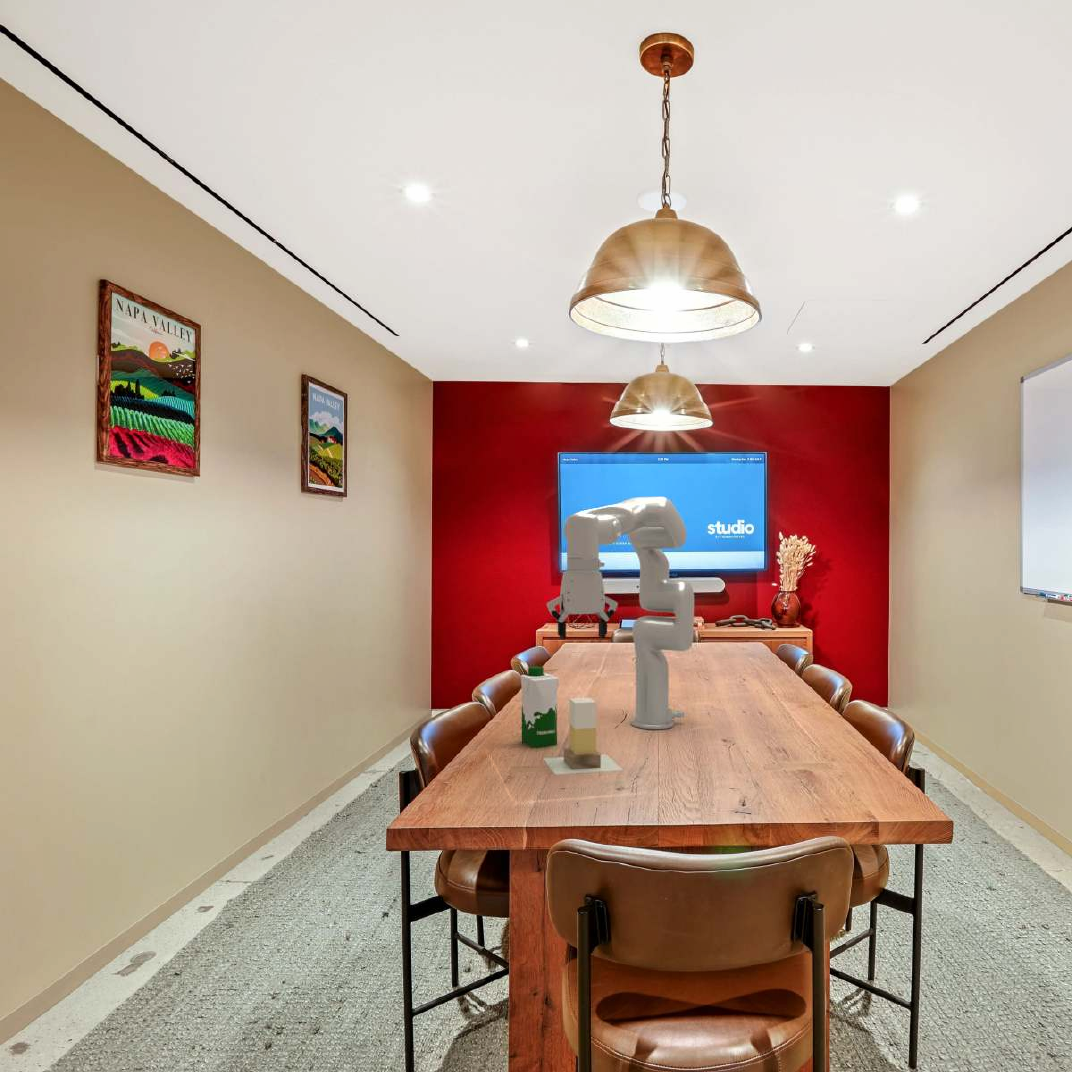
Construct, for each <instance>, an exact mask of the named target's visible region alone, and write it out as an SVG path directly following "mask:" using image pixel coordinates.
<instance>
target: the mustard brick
mask: <svg viewBox="0 0 1072 1072" xmlns="http://www.w3.org/2000/svg"><path fill="white" fill-rule="evenodd" d="M568 725H569V730H568V731H569V733H568V735H569V736H568V738H569V742H568V744H569V746H568V748H569V749H570V750H571V751H572V752H573V753H574V754H575V755H582V754H596V751H597V749H596V747H597V746H596V736H597V734H596V733H597V732H596V731H597V730H596V729H597V728H586V729H574V728H573V727H572V726H571V725H570V724H568Z"/></svg>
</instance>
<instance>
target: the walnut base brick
mask: <svg viewBox="0 0 1072 1072" xmlns="http://www.w3.org/2000/svg"><path fill="white" fill-rule="evenodd" d="M601 755H602V754H601V753H599V752H598V750H596V754H582V755H575V754H574V753H573V752H572V751H571V750H570V749H569V747H563V757H564V761H565V762H566V764H567V765H568V766H569V767H570V768H571V770H574V769H589V768H601Z"/></svg>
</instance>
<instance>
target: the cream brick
mask: <svg viewBox="0 0 1072 1072" xmlns="http://www.w3.org/2000/svg"><path fill="white" fill-rule="evenodd" d="M596 705H597V704H596V701H595V700H593V699H592V698H591V697H574V698H571V697H570V698H569V724H570V725H571V726H572V727H573V728H574V729H586V728H596V725H597V724H596V723H597V721H596V720H597V719H596V718H597V713H596V712H597V711H596V709H597V706H596ZM569 724H568V725H569ZM596 729H597V728H596Z"/></svg>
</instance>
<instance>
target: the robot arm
mask: <svg viewBox="0 0 1072 1072" xmlns="http://www.w3.org/2000/svg"><path fill="white" fill-rule="evenodd" d="M562 529H563V531H562V532H563V535H564V538H565V540H566V571H563V573H562V577H561V585H560V596H558V597H556V598H554V599H552V600H550V601H549V602H547V603H546V607H547V610H548V611H549V612H550V615H551V616H552V617H553V618H554V619H555V620H556V621H557V635H558V636H559V638H560V639H561V640H566V639H567V623H566V622H565V620H566V619H567V618H568V616H569V615H595V614H596V615H597V616H598V617H599V620H598V637H599V638H601V639H606V635H608V621H610V619H611V618H612V616H613V615H614V614H615V611H617V608H618V605H619V603H618V602H617V601H616V600H613V599H612V598H610V597H609V596H606V595H605V586H604V580H603V575H602V571H600V568H603V567H605V560H601V559H600V557H599V552H600V551H599V550H600V546H608V545H613V544H615V543H616V542H618V540H619V539H620V537H621V536H625V535H627V538H628V542H630V545H631V547H632V548H633V549H634V551H635V553H636V555H637V558H638V561H639V567H640V568H639V590H638V591H639V593H638V594H639V597H638V598H639V605H640V607H641V608H642V609H643V610H645V611H649V612H655V613H656V612H657V613H658V612H660V613H673V614H674V616H675V617H670V616H669V617H668V616H660V615H659V616H657V615H656V616H655V615H643V616H641V617H638V618H636V620H635V621H634V622H633V624H632V637H633V643H634V644H633V645H634V650H635V716H633V717H631V718H630V719H629V720H630V725H631V726H633V727H636V728H640V729H645V730H666V729H670V728H673V727H674V726H675V721H674V719H675V718H678V719H679V718H684V717H685V711H684V710H677V709H671V708H670V706H669V705H670V704H669V703H670V702H669V701H670V700H669V696H670V695H669V694H670V693H669V689H670V688H669V687H670V686H669V683H670V682H669V681H670V680H669V677H670V676H669V675H670V674H669V671H670V669H669V668H670V667H669V662H668V660H667V657H666V656H665V654H664V652H663V651H672V652H673V651H674V652H685V651H686V652H687V651H689V649H690V648H691V647H692V645H693V642H694V628H695V626H694V624H695V623H694V622H695V593H694V589H693V587H692V585H691V583H690V582H688V581H687V580H683V579H670V560H669V559H668V558H667V556H666V554H665V553H664V552H663V549H666V550H667V549H668V550H671V549H672V550H675V549H680V548H682V547H683V546H684V544H686V541H687V528H686V525H685V522H684V521H683V518H682V517H681V516H680V514H679V512H678V510H677V508H676V507H675V505H674V504H673V502H672V501H671V500H670V499H669V498H667V497H665V496H640V497H639V496H638V497H636V496H635V497H631V498H629V499H626V500H623V501H621V502H620V501H619V502H618V503H616V504H610V505H609V504H608V505H605V506H602V507H597V508H596V507H595V508H591V509H587V510H581V511H578V512H576V513H574V514H573V513H572V514H570V515H569V516H568V517H567V518H566V519H565V522H564V524H563V528H562ZM606 604H608V605H609V608H608V609H607V610H606V611H605V608H606V607H605V605H606ZM558 605H559V609H560V612H558V611H557V610H556V608H555V607H556V606H558Z"/></svg>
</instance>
